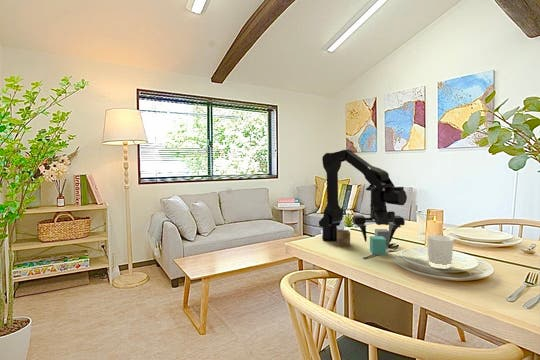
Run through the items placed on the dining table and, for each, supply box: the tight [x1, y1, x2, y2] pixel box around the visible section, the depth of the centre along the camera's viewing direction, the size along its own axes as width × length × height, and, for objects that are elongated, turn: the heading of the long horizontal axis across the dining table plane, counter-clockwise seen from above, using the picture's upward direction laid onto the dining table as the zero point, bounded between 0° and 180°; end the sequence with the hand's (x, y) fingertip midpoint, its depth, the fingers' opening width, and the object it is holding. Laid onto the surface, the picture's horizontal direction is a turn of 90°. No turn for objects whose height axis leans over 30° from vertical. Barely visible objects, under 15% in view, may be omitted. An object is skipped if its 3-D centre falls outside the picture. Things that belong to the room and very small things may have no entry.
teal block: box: [369, 235, 387, 256], centre depth 123 cm, size 5×5×6 cm
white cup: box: [426, 234, 455, 265], centre depth 107 cm, size 8×8×10 cm
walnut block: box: [336, 229, 351, 248], centre depth 134 cm, size 5×5×6 cm
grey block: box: [374, 228, 391, 247], centre depth 136 cm, size 5×5×6 cm
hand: (377, 241), depth 123 cm, fingers open, 9 cm apart
